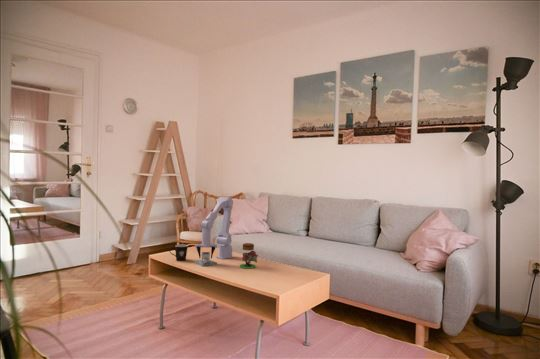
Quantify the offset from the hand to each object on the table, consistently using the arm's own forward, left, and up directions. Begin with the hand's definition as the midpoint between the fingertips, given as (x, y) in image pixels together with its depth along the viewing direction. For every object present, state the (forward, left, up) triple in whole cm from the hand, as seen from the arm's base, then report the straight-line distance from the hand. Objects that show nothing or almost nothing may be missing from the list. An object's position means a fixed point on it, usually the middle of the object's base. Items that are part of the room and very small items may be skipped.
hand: (205, 258), depth 243 cm
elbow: (+1, +2, -3) cm, 3 cm away
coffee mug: (+11, -18, -4) cm, 21 cm away
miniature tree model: (-20, +22, -4) cm, 30 cm away
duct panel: (0, 0, -4) cm, 4 cm away
